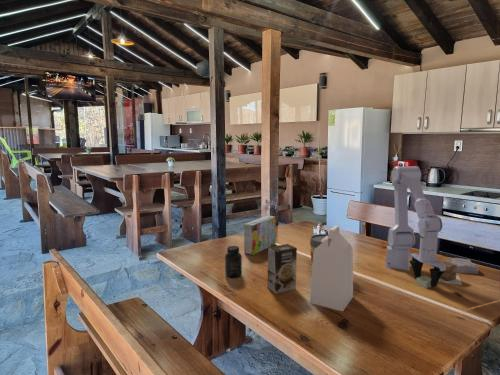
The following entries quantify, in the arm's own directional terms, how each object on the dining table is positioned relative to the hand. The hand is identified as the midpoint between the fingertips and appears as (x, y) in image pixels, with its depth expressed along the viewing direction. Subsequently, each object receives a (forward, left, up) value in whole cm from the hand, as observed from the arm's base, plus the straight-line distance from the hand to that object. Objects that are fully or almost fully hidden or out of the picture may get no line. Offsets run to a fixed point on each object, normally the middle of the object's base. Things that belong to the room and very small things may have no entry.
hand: (425, 282), depth 133 cm
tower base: (+8, +10, -1) cm, 13 cm away
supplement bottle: (-72, -19, -2) cm, 74 cm away
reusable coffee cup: (-38, -2, -2) cm, 38 cm away
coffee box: (-50, -23, -2) cm, 55 cm away
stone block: (+15, +24, -2) cm, 29 cm away
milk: (-31, -25, -2) cm, 40 cm away
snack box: (-74, +17, -2) cm, 76 cm away
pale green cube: (0, 0, -2) cm, 2 cm away
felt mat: (+8, +10, -1) cm, 13 cm away
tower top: (+8, +10, +2) cm, 13 cm away
